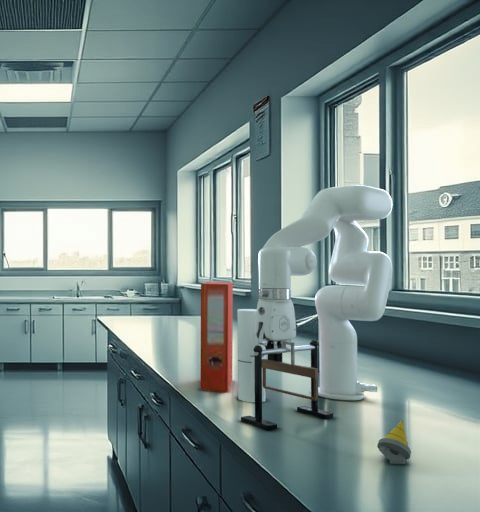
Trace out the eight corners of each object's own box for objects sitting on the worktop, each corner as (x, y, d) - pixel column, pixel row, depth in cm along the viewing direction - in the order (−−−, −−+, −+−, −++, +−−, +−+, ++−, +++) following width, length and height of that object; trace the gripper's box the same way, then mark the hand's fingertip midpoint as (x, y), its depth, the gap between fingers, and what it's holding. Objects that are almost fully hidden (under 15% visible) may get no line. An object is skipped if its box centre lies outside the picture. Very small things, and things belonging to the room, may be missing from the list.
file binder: (233, 381, 177) (232, 282, 178) (228, 392, 161) (228, 284, 162) (207, 378, 180) (206, 282, 181) (200, 390, 165) (199, 283, 165)
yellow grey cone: (368, 460, 107) (382, 418, 112) (398, 475, 105) (410, 432, 110) (380, 451, 103) (393, 408, 107) (412, 467, 101) (423, 422, 105)
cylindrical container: (267, 403, 149) (267, 311, 150) (240, 401, 151) (239, 310, 151) (262, 396, 156) (261, 309, 157) (236, 395, 158) (235, 308, 158)
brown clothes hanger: (265, 387, 140) (264, 338, 141) (318, 400, 127) (318, 345, 127) (261, 388, 140) (261, 338, 140) (315, 401, 126) (314, 346, 127)
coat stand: (304, 410, 142) (303, 337, 142) (333, 417, 135) (332, 341, 135) (240, 421, 132) (240, 343, 132) (268, 430, 124) (267, 348, 125)
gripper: (266, 296, 134) (266, 372, 133) (307, 295, 140) (307, 367, 140) (242, 295, 140) (242, 367, 140) (282, 294, 147) (282, 362, 147)
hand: (274, 366), depth 140 cm, fingers closed
